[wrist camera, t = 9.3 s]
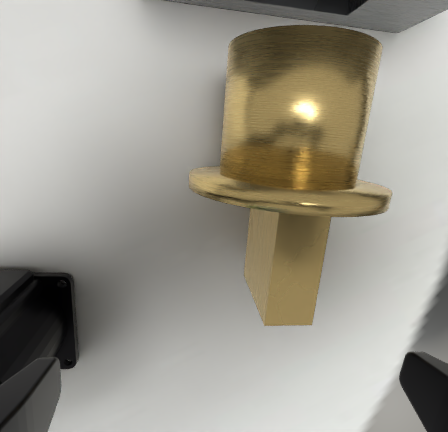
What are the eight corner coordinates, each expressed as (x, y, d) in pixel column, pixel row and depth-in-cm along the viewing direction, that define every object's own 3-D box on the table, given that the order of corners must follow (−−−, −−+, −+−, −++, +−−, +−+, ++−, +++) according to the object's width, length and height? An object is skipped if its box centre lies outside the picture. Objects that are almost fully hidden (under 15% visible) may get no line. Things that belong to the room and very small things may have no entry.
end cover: (314, 258, 19) (409, 349, 11) (184, 255, 18) (183, 355, 10) (344, 81, 16) (500, 30, 8) (192, 64, 15) (200, -15, 7)
